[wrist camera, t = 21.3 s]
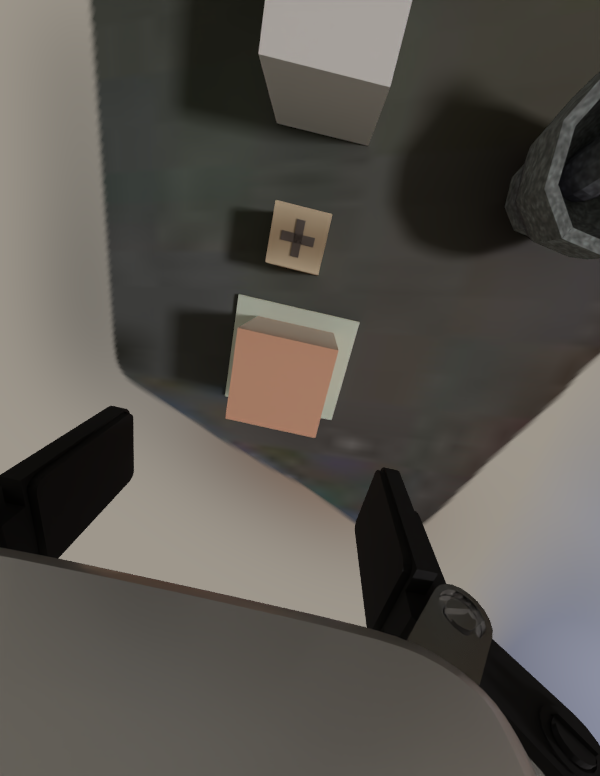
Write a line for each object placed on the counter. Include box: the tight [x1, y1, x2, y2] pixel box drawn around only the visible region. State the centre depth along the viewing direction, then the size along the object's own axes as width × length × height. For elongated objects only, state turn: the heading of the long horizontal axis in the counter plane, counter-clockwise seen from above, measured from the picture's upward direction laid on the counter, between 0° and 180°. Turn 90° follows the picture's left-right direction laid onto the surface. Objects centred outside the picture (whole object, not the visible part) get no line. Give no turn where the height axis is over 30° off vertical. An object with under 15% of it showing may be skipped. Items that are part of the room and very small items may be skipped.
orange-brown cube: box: [226, 316, 339, 438], centre depth 24 cm, size 7×7×7 cm
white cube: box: [258, 0, 412, 146], centre depth 17 cm, size 7×7×7 cm
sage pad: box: [225, 294, 360, 420], centre depth 27 cm, size 10×11×1 cm
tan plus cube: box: [265, 200, 332, 276], centre depth 22 cm, size 4×4×4 cm
